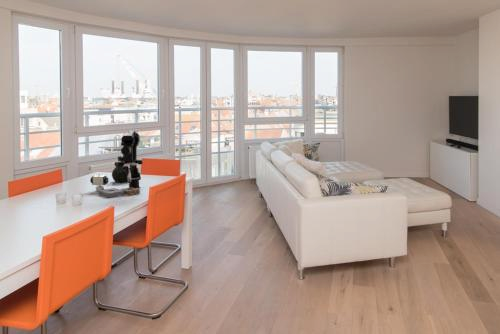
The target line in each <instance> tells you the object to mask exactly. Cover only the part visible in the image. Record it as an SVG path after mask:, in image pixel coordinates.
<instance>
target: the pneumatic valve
mask: <svg viewBox="0 0 500 334" xmlns="http://www.w3.org/2000/svg"><path fill="white" fill-rule="evenodd" d="M89 181H90V184H91V185H92V186H95V191H96V192H99V191H98V190H104V189H105V185H107V184H108V183H109V177H108V176H107V175H101V174H99V173H98V175H96V174H95V175H92V176H91V177H90V180H89Z"/></svg>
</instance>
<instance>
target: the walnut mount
mask: <svg viewBox="0 0 500 334" xmlns="http://www.w3.org/2000/svg"><path fill="white" fill-rule="evenodd" d="M120 190H123V191H124V194H125V195H124V196H134V195H139V194H140V189H139V188H133V187H131V188H129V187H126V188H121V189H120Z"/></svg>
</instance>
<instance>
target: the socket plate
mask: <svg viewBox="0 0 500 334" xmlns="http://www.w3.org/2000/svg"><path fill="white" fill-rule="evenodd" d="M97 192H98V195H99V196H102V197H105V198H107V199H109V198H115V197H122V196H126V195H125V194H124V191H123V190H121V189H119V188H117V187H110V188H106V189H105V188H104V190H98V191H97Z"/></svg>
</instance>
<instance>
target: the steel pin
mask: <svg viewBox="0 0 500 334" xmlns="http://www.w3.org/2000/svg"><path fill="white" fill-rule="evenodd" d="M129 182H131V170H130V169H128V182H127V183H129Z"/></svg>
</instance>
